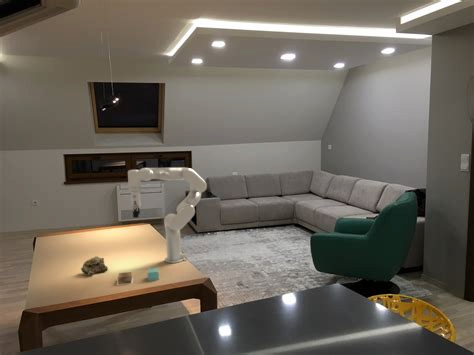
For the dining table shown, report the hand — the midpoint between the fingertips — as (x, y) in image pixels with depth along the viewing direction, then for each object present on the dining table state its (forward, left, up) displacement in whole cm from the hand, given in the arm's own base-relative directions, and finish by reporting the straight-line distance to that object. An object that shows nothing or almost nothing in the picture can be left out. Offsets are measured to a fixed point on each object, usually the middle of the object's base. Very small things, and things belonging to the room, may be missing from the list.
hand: (136, 215), depth 252 cm
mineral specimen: (+27, +4, -34) cm, 44 cm away
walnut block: (+7, +27, -32) cm, 43 cm away
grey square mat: (+8, +27, -33) cm, 44 cm away
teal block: (-9, +27, -34) cm, 44 cm away
